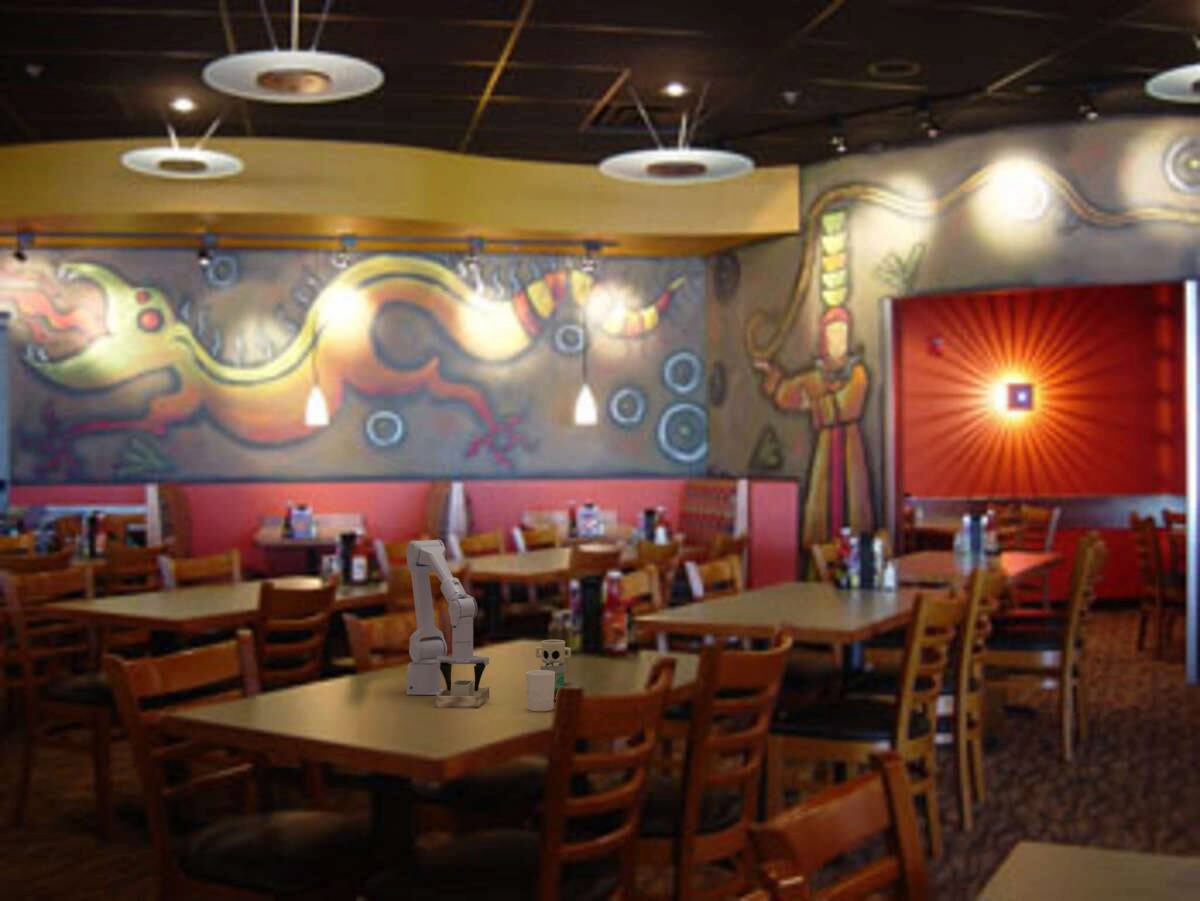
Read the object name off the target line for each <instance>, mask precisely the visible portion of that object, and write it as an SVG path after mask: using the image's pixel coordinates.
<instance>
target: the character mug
mask: <svg viewBox="0 0 1200 901" xmlns="http://www.w3.org/2000/svg"><path fill="white" fill-rule="evenodd" d="M540 651H541V653H540ZM566 651H567V655H566ZM535 657H536V658H539V659H541V661H542V663H545V665H549V664H550V660H552V661H561V662H564V663H565V661H566V659H569V660H570V659H572V658H571V657H572V649H571V647H566V641H565V640H562V639H545V640H541V646H535Z"/></svg>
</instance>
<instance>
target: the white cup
mask: <svg viewBox="0 0 1200 901" xmlns="http://www.w3.org/2000/svg"><path fill="white" fill-rule="evenodd" d="M525 677H526V678H525V680H526V697H527V698H526V699H527V709H528V710H529V711H531V712H550V711H552V710H553V709H554V701H553V700H554V689H555V672H554V671H548V670H540V669H536V670H529V671H526V672H525Z"/></svg>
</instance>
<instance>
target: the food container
mask: <svg viewBox="0 0 1200 901" xmlns="http://www.w3.org/2000/svg"><path fill="white" fill-rule="evenodd" d="M539 668H540V669H539V670H548V671H554V672H555V689H554V700H555V697H556V693H557V690H558V688H560V687H564V686H565V673H566V672H568V669H567V664H566V663H565V661H564V662H561V661H552V660H550V664H549V665H546V664H545V665H543V666H542V665H541V666H540V667H539ZM554 700H553V702H555V701H554Z"/></svg>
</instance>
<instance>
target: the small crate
mask: <svg viewBox="0 0 1200 901" xmlns="http://www.w3.org/2000/svg"><path fill="white" fill-rule="evenodd" d="M474 685H475V679H474V680H473V679H472V680H468V679H467V680H466V679H465V680H464V679H462V680H461V679H459V680H458V679H456V680H455V681H453V682H452V683H451V696H472V697H474Z"/></svg>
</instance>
